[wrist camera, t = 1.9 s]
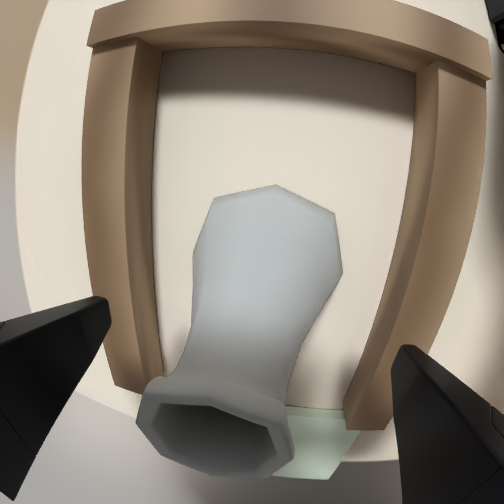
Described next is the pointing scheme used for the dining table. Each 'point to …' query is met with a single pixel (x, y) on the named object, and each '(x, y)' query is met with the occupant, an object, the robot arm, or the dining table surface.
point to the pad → (316, 442)
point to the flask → (244, 334)
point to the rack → (302, 38)
